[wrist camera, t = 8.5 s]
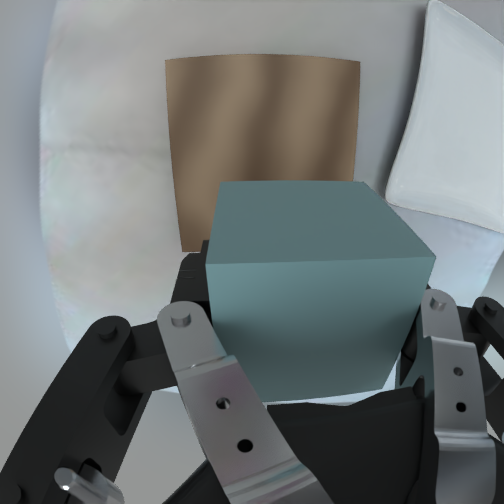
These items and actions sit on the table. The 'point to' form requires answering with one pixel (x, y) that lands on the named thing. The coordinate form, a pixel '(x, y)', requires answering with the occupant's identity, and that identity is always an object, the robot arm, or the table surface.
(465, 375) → the robot arm
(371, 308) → the slate cube
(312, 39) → the table surface
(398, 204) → the salad plate
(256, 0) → the table surface
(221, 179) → the walnut board
